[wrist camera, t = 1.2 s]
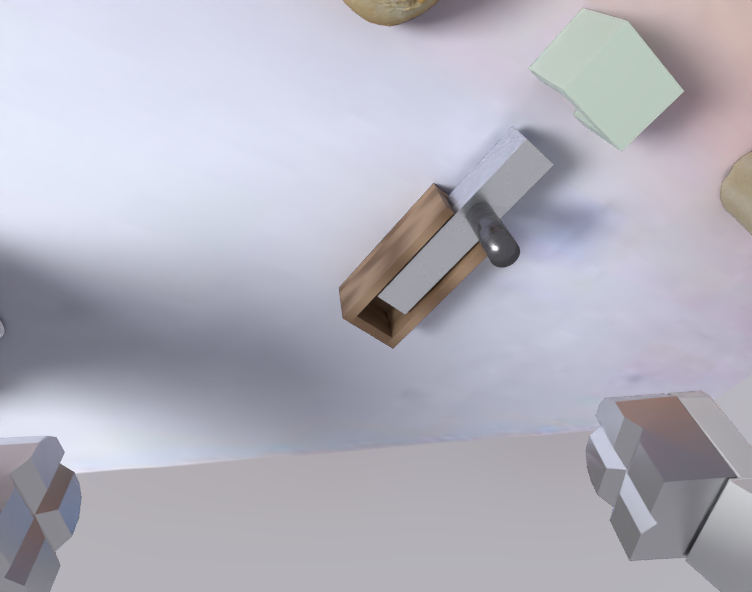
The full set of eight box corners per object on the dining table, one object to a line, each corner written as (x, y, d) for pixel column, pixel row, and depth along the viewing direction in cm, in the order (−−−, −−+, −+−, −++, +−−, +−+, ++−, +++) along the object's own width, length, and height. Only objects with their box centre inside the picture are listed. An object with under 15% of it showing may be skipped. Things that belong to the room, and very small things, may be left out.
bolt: (399, 294, 48) (418, 362, 41) (373, 276, 47) (387, 343, 39) (538, 150, 42) (590, 198, 35) (512, 126, 41) (560, 170, 34)
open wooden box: (386, 317, 50) (393, 348, 47) (338, 287, 48) (342, 318, 44) (480, 220, 46) (496, 246, 42) (433, 183, 44) (446, 206, 40)
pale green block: (582, 124, 43) (621, 151, 37) (528, 68, 40) (562, 89, 35) (635, 70, 41) (684, 91, 36) (582, 7, 38) (627, 20, 33)
